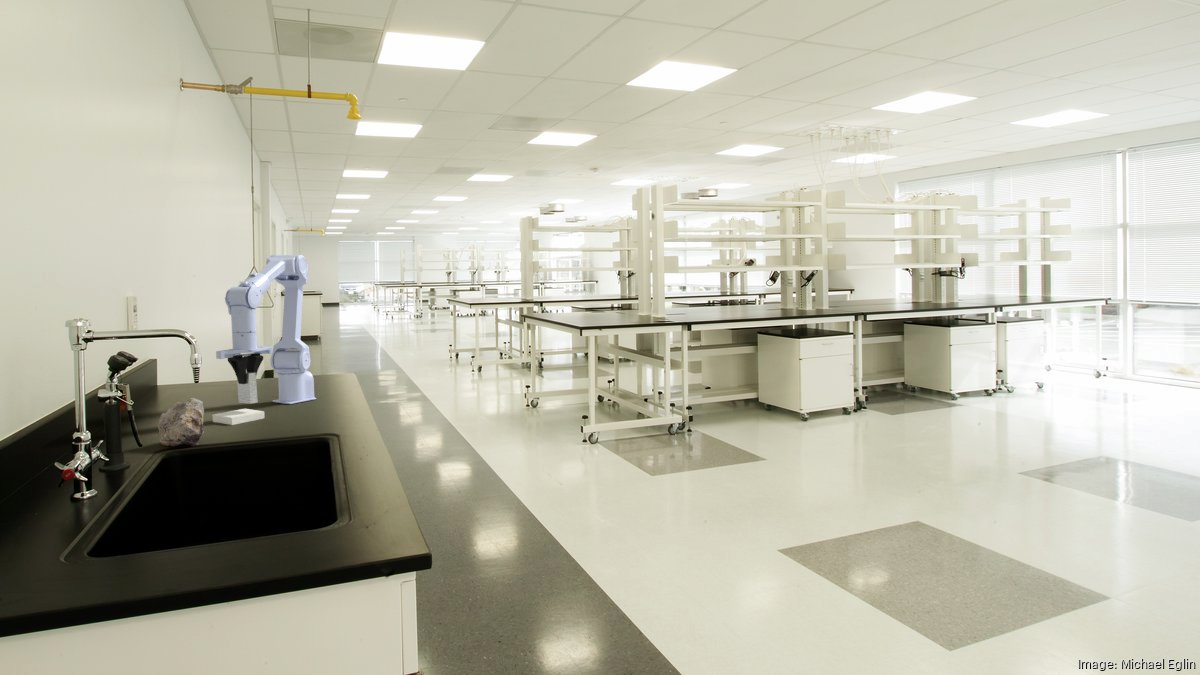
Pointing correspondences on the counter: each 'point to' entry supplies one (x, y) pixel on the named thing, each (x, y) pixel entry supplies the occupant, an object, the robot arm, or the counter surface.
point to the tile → (238, 416)
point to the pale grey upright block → (248, 389)
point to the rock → (182, 423)
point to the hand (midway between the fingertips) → (246, 383)
